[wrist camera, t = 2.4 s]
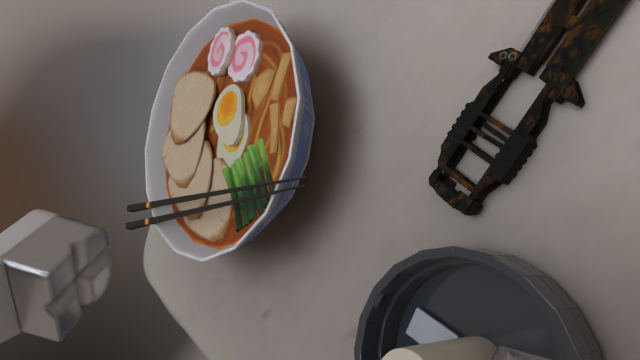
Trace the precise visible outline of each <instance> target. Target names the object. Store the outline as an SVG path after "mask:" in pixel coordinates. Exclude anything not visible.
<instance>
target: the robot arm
mask: <svg viewBox="0 0 640 360" xmlns="http://www.w3.org/2000/svg"><path fill="white" fill-rule="evenodd" d="M108 245H109V239H108V232H107V231H105V230H104V229H102V228H99V227H96V226H93V225H90V224H87V223H84V222H80V221H77V220H74V219H71V218H68V217H65V216H62V215H57V214H54V213H51V212H48V211H45V210H42V209H38V210H33V211H31V212H30V213H28V214H27V215H25V216H24V217H23V218H21V219H20V220H19V221H17V222H16V223H14V224H13V225H12V226H10V227H9V228H8V229H6V230H5V231H4V232H2V233H1V234H0V343H2V342H4V341H6V340H8V339H10V338H12V337H14V336H16V335H18V334H19V333H21V332H20V331H23V332H27V333H30V334H34V335H37V336H40V337H44V338H47V339H50V340H54V341H57V342H60V341H61V339H62V338H63V337H64V336H65V335H66V334H67V333H68V332H69V331H70V330H71V328H72V327H73V326H74V325H75V324H76V323H77V322H78V321H79V320H80V319H81V308H83V307H86V306H88V305H91V304H93V303H95V302H96V301H97V300H98V298H99V297H100V296H101V295H102V294H103V293H104V291H105V289H106V286H107V285H108V282H109V280H110V276H111V270H112V269H111V260H110V259H109V257H108V256H107V254H106V253H105V252H104V249H105V248H106V247H107V246H108ZM492 360H552V359H548V358H545V357H541V356H538V355H534V354H531V353H527V352H524V351H520V350H517V349H513V348H510V347H506V346H502V345H500V346H499V347H498V348H497V349H496V351H495V353H494V355H493V356H492Z"/></svg>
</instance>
